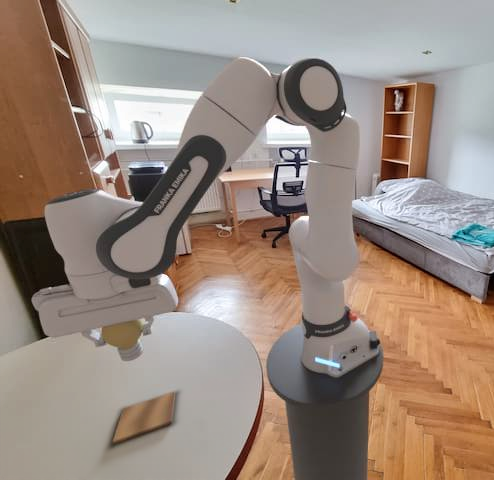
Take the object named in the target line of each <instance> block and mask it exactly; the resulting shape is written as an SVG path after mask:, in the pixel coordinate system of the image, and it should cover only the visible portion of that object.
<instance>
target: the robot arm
mask: <svg viewBox="0 0 494 480" xmlns="http://www.w3.org/2000/svg"><path fill="white" fill-rule="evenodd" d="M344 97H345V96H344V87H343V83H342V81H341V77H340V76H339V73H338V71H337V70H336V68H335V67H334V66H333V65H332V64H330V63H329V62H328V61H327V60H324V59H323V58H318V57H311V56H310V57H303V58H300V59H298V60H296V61H295V62H293V64H291V65H289V66H288V67H287V68H285V69H284V70H283V71H282V72H280V73H273V72H271V71H269V70H268V69H267V68H266V67H265V65H263V64H261V63H260V62H258V61H256V60H255V59H253V58H249V57H245V56H244V57H243V56H242V57H241V56H240V57H237V58H236V59H234V60H232V61H231V62H230V63H229V64H228V65H226V66H225V67H224V68H223V69H222V70H221V71H220V72H219V73H218V74H217V75H216V76H215V77H214V78H213V79H212V80H211V81H210V83H209V84H208V85H207V87H206V88H205V89H204V91H203V92H202V93H201V95H200V96H199V97H198V99H197V100H196V102H195V103H194V105H193V106H192V108H191V110H190V112H189V114H188V116H187V119H186V120H185V123H184V125H183V128H182V131H181V134H180V137H179V140H178V145H177V148H176V150H175V153H174V156H173V157H172V159H171V162H170V164H169V165H168V167H167V169H166V170H165V172H164V173H163V174H162V176H161V177H160V178H159V180H158V182H157V183H156V185H154V187H153V188H152V190H151V191H150V192H149V193H148V195H147V196H146V198H145V200H144V201H138V200H137V201H136V200H132V199H127V198H123V197H119V196H116V195H113V194H110V193H108V192H106V191H105V190H102V189H99V188H88V189H81V190H76V191H72V192H68V193H66V194H63V195H62V194H61V195H59V196H57V197H54V198H53V199H51V200H50V201H48V202H47V203H46V204H45V206H44V218H45V222H46V227H47V230H48V233H49V236H50V239H51V241H52V244H53V246H54V250H55V251H56V252H57V253H58V254H59V255H60V256H61V258H62V259H63V262H64V272H65V275H66V277H67V280H68V282H69V284H63V285H58V286H54V287H45V288H42V289H39V290H38V291H37V292H35V293H34V294H33V295H32V297H31V303H32V306H33V307H34V309H35V311H37V312H38V317H39V321H40V325H41V328H42V331H43V333H44V335H45V336H47V337H49V338H53V339H55V338H56V339H57V338H61V337H66V336H69V335H75V334H79V333H80V334H81V335H82V337H84V338H86V339H87V340H89V341H91V342H93V343H94V345H95V347H96V348H100V347H104V346H107V345H108V344H107V343H106V342H105V341H104V340H103V338H102V334H101V333H100V332H98V331H97V330H96V329H102V328H103V327H106V326H110V325H114V324H118V323H123V322H128V321H133V320H137V319H141V320H142V319H144V321H145V322H147V323H143V328H142V329H141V330H142V333H141V334H142V335H143V337H144V336H150V335H153V333H154V326H153V323H154V321H155V317H156V316H160V315H163V314H169V313H173V312H175V310H176V309H177V307H178V305H179V297H178V294H177V291H176V289H175V286H174V284H173V282H172V280H171V278H169V276H168V275H166V274H165V273H166V272H167V271H168V270H169V269H170V268H171V266H172V265H173V263H174V262H175V259H176V255H177V245H178V242H179V239H180V234H181V231H182V229H183V227H184V226H185V224H186V222H187V220H189V218H190V216H191V215H192V214H193V213H194V211H195V209H196V208H197V206H198V205H199V202H201V201H202V199H203V197H204V196H205V194H207V191H208V190H209V189H210V187H211V186H212V185H213V184H214V183H215V182H216V181H217V180H218V179H219V178H220V177H221V176H222V175H223V174H224V173H225V172H226V171H227V170H229V168H230V167H232V166H233V165H234V164H235V163H236V162H237V161H238V160H239V159H240V158H241V157H243V155H244V154H245V153H246V151H247V150H248V149H249V148H250V147H251V146H252V144H253V143H254V142H255V141H256V139H257V137H258V136H259V135H260V133H261V132H262V130H263V129H264V127H265V126H266V125H267V124H268V123H269V122H270V121H271V120H272V119H274V118H275V119H278V120H279V121H282V122H284V123H286V124H287V125H291V126H295V127H305V129H306V130H307V132H308V135H309V139H310V149H309V156H308V163H307V171H306V177H305V178H306V179H305V186H304V200H305V203H306V204H305V205H306V210H307V215H305V216H300V217H299V218H297V219H295V220H293V222H292V223H291V224H290V227H289V229H288V240H289V243H290V246H291V251H292V255H293V260H294V264H295V269H296V273H297V278H298V282H299V285H300V291H301V293H300V294H301V301H302V302H301V303H302V312H301V323H302V330H303V334H304V341H303V348H302V351H301V361H302V363H303V364H304V366H305V367H306V368H308V369H309V370H311V371H314V372H318V373H325V374H328V375H330V376H332V377H335V378H338V377H340V376H342V375H344V374H345V373H347V372H349V371H350V370H352V369H354V368H356V367H357V366H359V365H361V364H362V363H364V362H366V361H368V360H369V359H371V358H373V357H374V356H376V355H378V354H379V344H381V340H380V339H379V338H378V336H377V331H376V330H370V329H369V328H368V327H367V325H366V324H365V322H364V321H363V320H362V319H361V318H359V317H358V315H357V314H356V312H354V311H352V309H351V308H350V306H348V305H347V304H345V284H344V281H346V280H348V279H350V277H352V276H353V275H354V274H355V273H356V271H357V269H358V268H359V265H360V261H361V255H360V250H359V248H358V245H357V243H356V240H355V239H356V238H355V234H354V223H353V197H354V191H355V184H356V179H357V172H358V167H359V166H358V165H359V158H360V145H361V143H360V142H361V138H360V137H361V136H360V135H361V133H360V131H361V130H360V126H359V123H358V121H357V120H356V119H355V118H354V117H352V116H351V115H349V114H348V113H347V103H346V100H345V98H344ZM368 329H369V330H370V331H369V330H368ZM377 338H378V339H377ZM340 370H341V371H340Z"/></svg>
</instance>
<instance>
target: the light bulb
mask: <svg viewBox="0 0 494 480" xmlns="http://www.w3.org/2000/svg"><path fill="white" fill-rule="evenodd" d="M143 325H144V323H143V320H142V319H137V320H133V321H128V322H123V323H118V324H114V325H110V326H106V327H101V333H100V334H102V338H103V340H104V341H105V342H106V343H107V345H110V346H112V347H115V348H116V349H117V352H118V355H119V358H120V359H121V361H123V362H131V361H135V360H136V359H138V358H139V357H141V355H142V354H143V353H144V348H143V345H142V342H141V340H140V337H141V335H142V334H143V333H142V330H141V329H142V328H143Z"/></svg>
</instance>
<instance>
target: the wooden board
mask: <svg viewBox="0 0 494 480" xmlns="http://www.w3.org/2000/svg"><path fill="white" fill-rule="evenodd" d="M175 400H176V392H175V391H173V392H171V393H167V394H165V395H161V396H158V397H156V398H152V399H149V400H146V401H142V402H139V403H136V404H133V405H130V406H127V407H124V408H122V410H121V413H120V416H119V419H118V422H117V426H116V429H115V432H114V436H113V439H112V444H117V443H120V442H122V441H125V440H127V439H130V438H131V439H132V438H133V437H137V436H139V435H141V434H145V433H147V432H151V431H153V430H155V429H159V428H161V427H164V426H167V425H169V424H172V423H173V417H174V408H175Z"/></svg>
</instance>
